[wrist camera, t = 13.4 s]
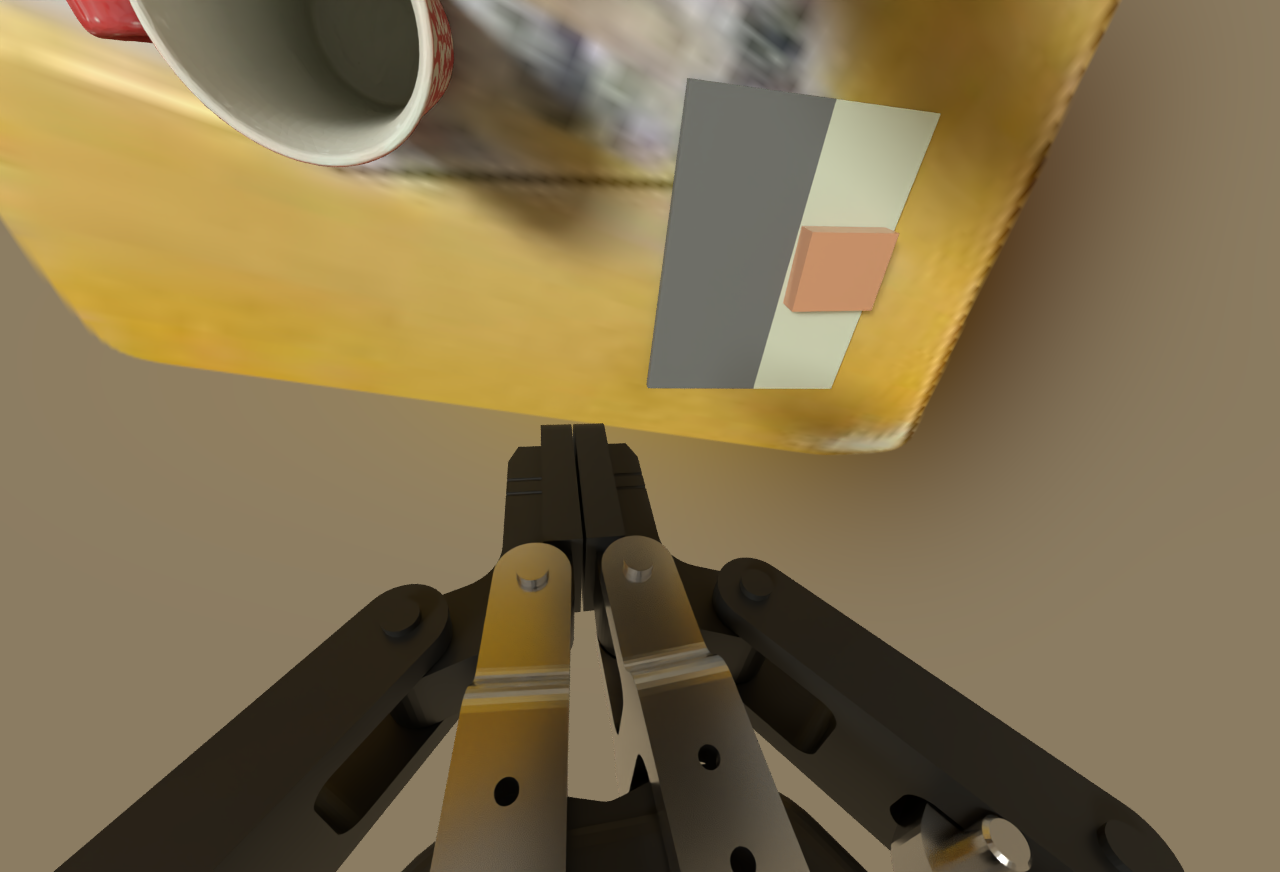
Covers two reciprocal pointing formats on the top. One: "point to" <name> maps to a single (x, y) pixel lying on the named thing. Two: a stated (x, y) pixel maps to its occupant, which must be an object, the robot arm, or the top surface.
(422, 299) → the top surface
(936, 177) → the top surface
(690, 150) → the mat
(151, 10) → the mug
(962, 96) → the top surface
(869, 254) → the tile
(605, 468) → the robot arm
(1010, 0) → the top surface
